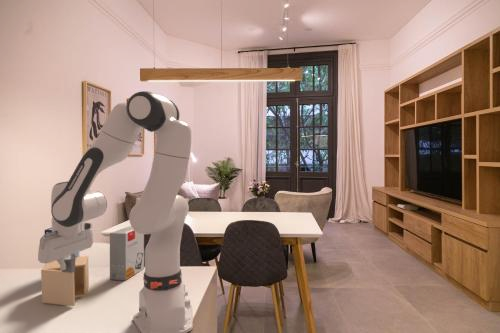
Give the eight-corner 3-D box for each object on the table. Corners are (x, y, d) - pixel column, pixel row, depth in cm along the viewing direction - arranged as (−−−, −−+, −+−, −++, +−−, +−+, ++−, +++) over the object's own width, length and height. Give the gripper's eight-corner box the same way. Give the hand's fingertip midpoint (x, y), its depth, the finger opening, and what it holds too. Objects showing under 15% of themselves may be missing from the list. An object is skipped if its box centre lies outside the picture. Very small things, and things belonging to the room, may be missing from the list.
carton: (86, 296, 121) (85, 264, 120) (42, 302, 115) (41, 269, 115) (88, 285, 131) (88, 255, 131) (48, 290, 126) (48, 260, 125)
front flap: (72, 306, 111) (71, 261, 111) (40, 303, 114) (39, 258, 114) (76, 304, 113) (74, 259, 112) (44, 301, 116) (43, 257, 115)
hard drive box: (125, 281, 135) (124, 233, 134) (109, 280, 136) (108, 233, 136) (144, 268, 150) (144, 226, 150) (129, 267, 152) (129, 225, 151)
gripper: (48, 235, 100) (49, 279, 101) (95, 222, 120) (96, 259, 121) (32, 234, 102) (33, 278, 102) (81, 221, 122) (82, 258, 122)
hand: (67, 267), depth 112 cm, fingers closed
